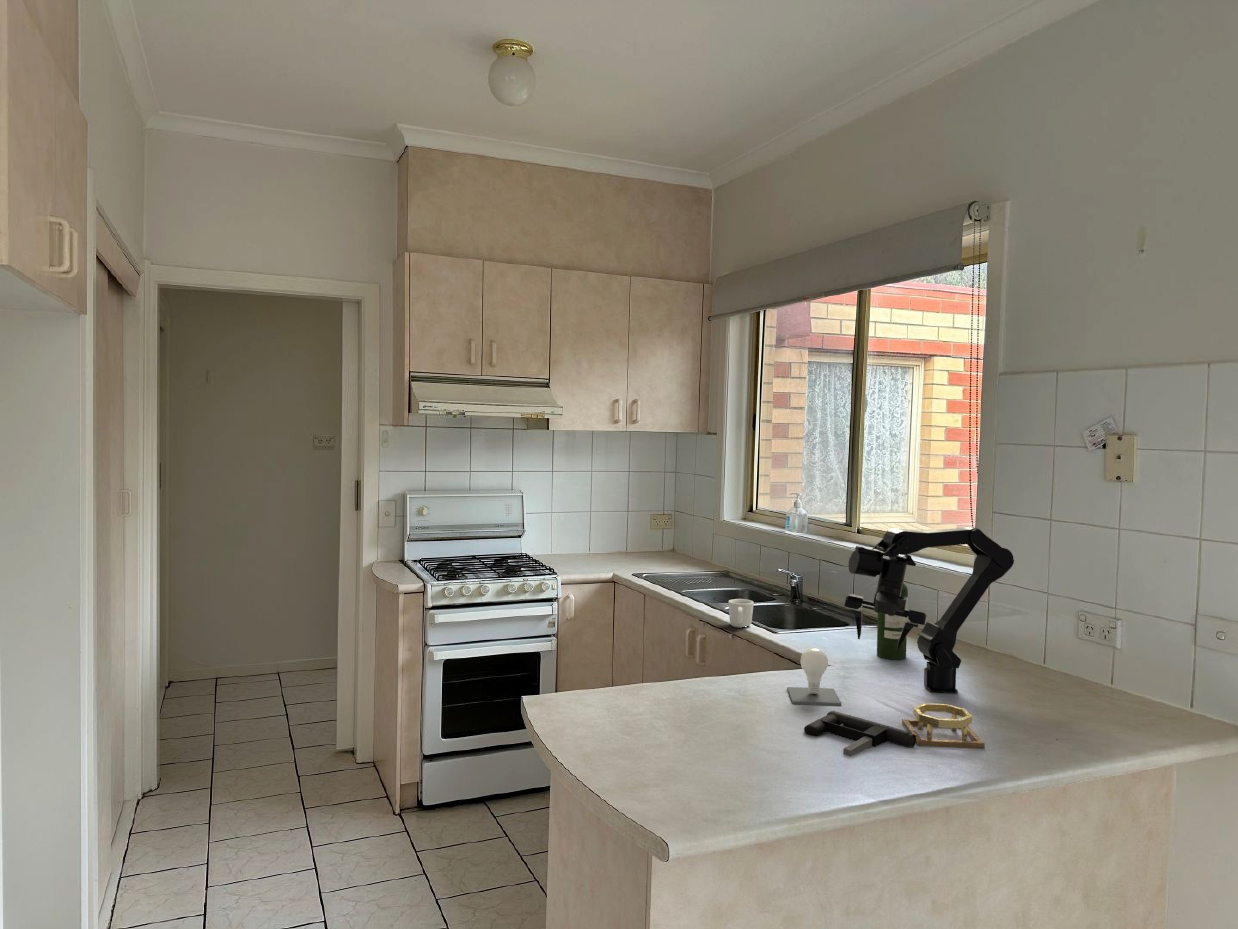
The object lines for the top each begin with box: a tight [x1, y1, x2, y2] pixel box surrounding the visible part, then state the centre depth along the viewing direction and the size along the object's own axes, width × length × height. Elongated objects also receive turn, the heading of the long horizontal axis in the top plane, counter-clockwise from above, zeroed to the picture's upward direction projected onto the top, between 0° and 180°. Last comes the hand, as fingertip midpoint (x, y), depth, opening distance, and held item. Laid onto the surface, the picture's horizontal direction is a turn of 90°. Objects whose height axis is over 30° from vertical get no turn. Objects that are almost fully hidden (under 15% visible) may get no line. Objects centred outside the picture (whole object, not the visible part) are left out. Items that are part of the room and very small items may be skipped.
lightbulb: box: [800, 647, 829, 695], centre depth 207 cm, size 6×6×11 cm
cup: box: [728, 598, 755, 629], centre depth 277 cm, size 11×8×8 cm
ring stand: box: [901, 702, 986, 749], centre depth 182 cm, size 13×13×5 cm
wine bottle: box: [876, 554, 909, 661], centre depth 244 cm, size 8×8×30 cm
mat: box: [787, 686, 842, 706], centre depth 207 cm, size 11×11×1 cm
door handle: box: [803, 710, 916, 757], centre depth 179 cm, size 3×20×16 cm
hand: (878, 643), depth 212 cm, fingers open, 9 cm apart
